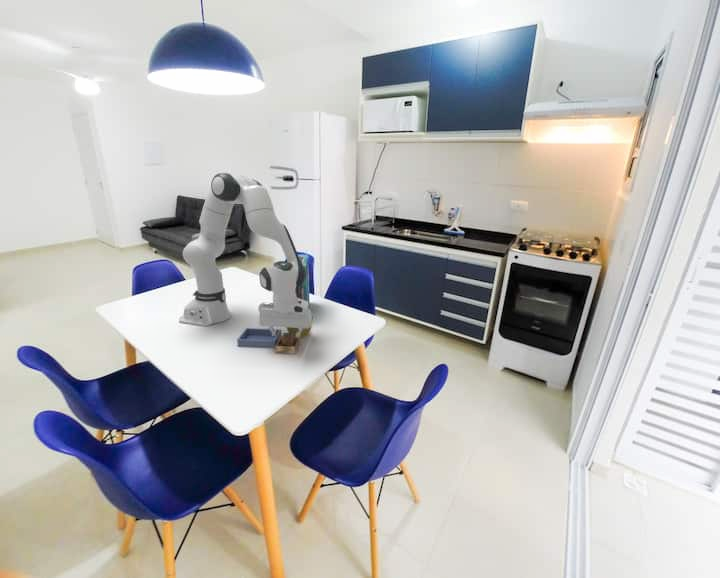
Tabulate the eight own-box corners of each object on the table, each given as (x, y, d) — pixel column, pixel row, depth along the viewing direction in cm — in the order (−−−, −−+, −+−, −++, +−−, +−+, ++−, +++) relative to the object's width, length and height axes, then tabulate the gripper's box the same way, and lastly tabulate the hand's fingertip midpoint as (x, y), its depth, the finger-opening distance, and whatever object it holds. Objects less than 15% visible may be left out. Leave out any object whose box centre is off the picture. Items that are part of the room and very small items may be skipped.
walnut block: (282, 350, 131) (281, 337, 129) (284, 345, 135) (284, 332, 133) (292, 351, 131) (291, 337, 129) (294, 346, 135) (293, 332, 133)
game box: (297, 303, 178) (295, 254, 169) (309, 303, 179) (308, 254, 169) (294, 319, 159) (291, 265, 149) (307, 319, 159) (305, 265, 150)
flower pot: (313, 334, 146) (313, 315, 142) (300, 342, 139) (299, 323, 135) (298, 329, 150) (298, 311, 147) (285, 336, 143) (284, 317, 140)
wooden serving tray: (275, 354, 129) (275, 346, 128) (281, 343, 137) (280, 336, 136) (296, 355, 129) (296, 347, 128) (300, 344, 137) (300, 337, 136)
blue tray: (237, 347, 133) (237, 339, 132) (247, 335, 143) (246, 328, 142) (275, 348, 133) (274, 341, 132) (281, 336, 143) (281, 329, 141)
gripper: (255, 305, 123) (257, 338, 128) (309, 308, 123) (310, 341, 127) (260, 299, 129) (263, 330, 134) (312, 302, 129) (312, 333, 133)
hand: (286, 336), depth 131 cm, fingers open, 8 cm apart
